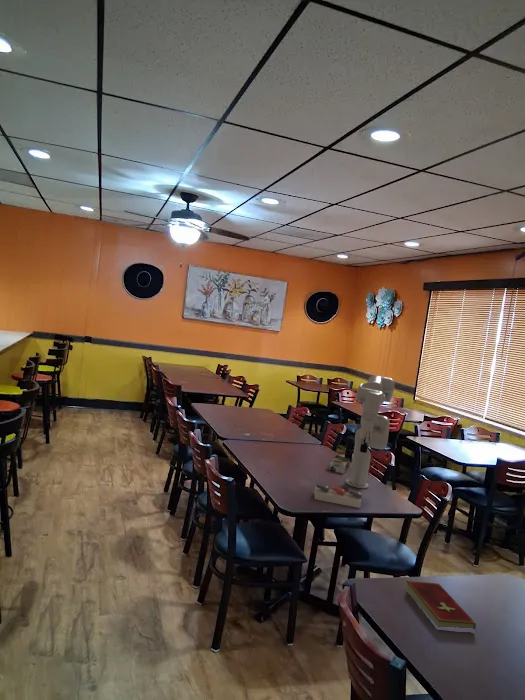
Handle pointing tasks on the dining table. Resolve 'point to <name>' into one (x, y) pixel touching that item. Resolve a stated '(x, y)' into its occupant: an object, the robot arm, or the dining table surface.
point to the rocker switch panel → (337, 497)
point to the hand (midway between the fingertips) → (363, 451)
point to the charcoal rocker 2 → (355, 493)
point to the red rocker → (338, 490)
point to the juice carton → (339, 464)
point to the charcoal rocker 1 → (322, 486)
